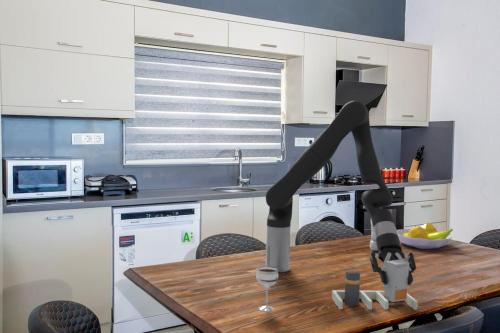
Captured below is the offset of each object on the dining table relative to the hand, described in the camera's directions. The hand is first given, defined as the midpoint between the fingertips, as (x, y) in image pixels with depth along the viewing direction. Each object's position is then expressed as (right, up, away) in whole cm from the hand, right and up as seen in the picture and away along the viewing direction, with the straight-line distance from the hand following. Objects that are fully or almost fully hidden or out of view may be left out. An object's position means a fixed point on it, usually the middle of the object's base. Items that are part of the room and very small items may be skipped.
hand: (398, 283), depth 144 cm
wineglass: (-41, -7, -4) cm, 42 cm away
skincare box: (0, -6, +2) cm, 6 cm away
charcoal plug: (-14, -7, +1) cm, 16 cm away
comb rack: (-7, -7, +1) cm, 10 cm away
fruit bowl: (+40, -3, +85) cm, 94 cm away
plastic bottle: (+13, -3, +72) cm, 74 cm away
